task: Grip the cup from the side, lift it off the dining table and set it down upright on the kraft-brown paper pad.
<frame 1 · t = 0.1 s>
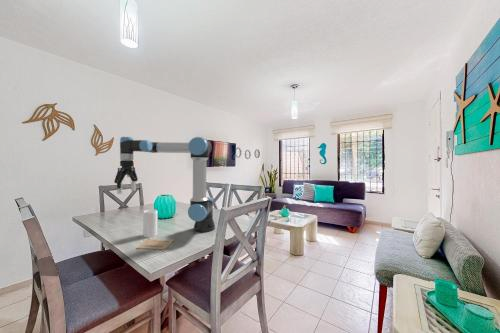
hand: (126, 192, 131), 28 cm above the table, tool pointing down, fingers open, 13 cm apart
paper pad: (156, 244, 115), on the table
cup: (150, 235, 129), on the table
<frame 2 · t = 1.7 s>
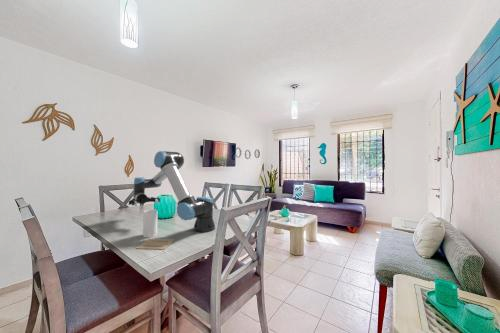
hand: (147, 203, 136), 20 cm above the table, tool horizontal, fingers open, 13 cm apart
nothing on the table moved.
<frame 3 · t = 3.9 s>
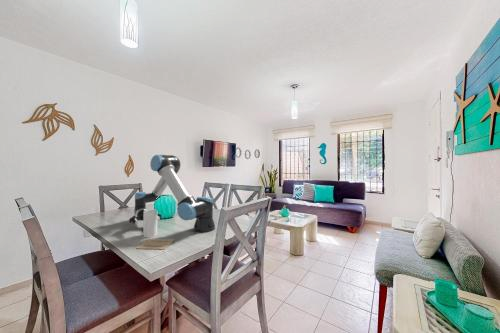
hand: (148, 221, 132), 8 cm above the table, tool horizontal, fingers open, 13 cm apart
nothing on the table moved.
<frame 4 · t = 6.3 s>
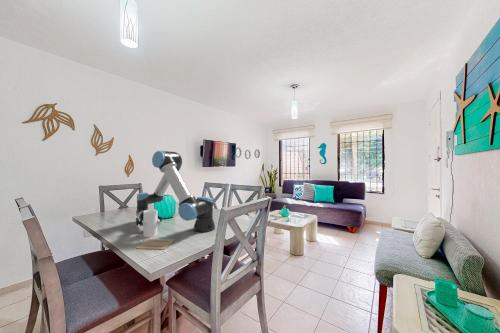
hand: (152, 224, 125), 9 cm above the table, tool horizontal, fingers closed on cup, 8 cm apart
cup: (150, 235, 129), on the table, touching gripper
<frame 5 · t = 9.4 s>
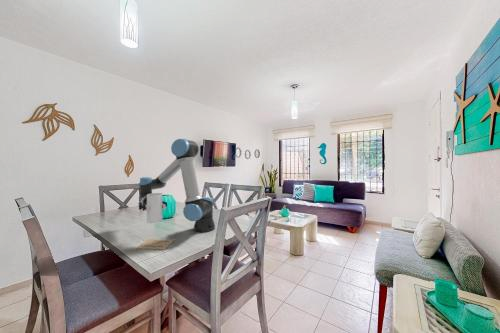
hand: (156, 208, 112), 22 cm above the table, tool horizontal, fingers closed on cup, 8 cm apart
cup: (154, 221, 116), point 13 cm above the table, touching gripper
when the fingers open (10 cm above the table, at t = 12.6 s): cup drops 1 cm, resting on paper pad.
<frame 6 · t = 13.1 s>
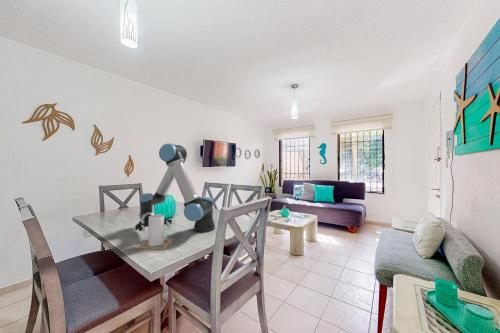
hand: (157, 228, 112), 10 cm above the table, tool horizontal, fingers open, 13 cm apart
cup: (156, 243, 115), resting on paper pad
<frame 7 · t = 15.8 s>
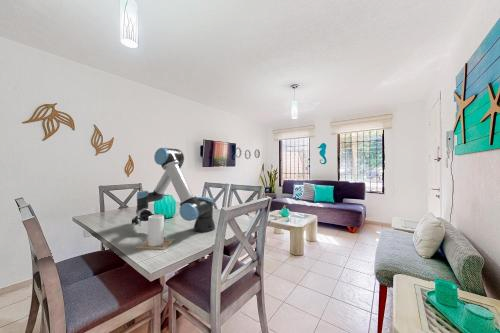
hand: (152, 221, 123), 11 cm above the table, tool horizontal, fingers open, 13 cm apart
nothing on the table moved.
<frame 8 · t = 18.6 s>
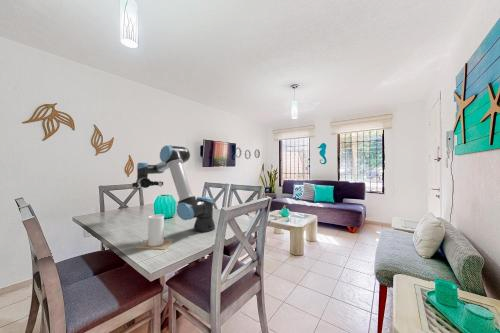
hand: (150, 185, 136), 32 cm above the table, tool horizontal, fingers open, 13 cm apart
nothing on the table moved.
at the end: cup inside the target area on the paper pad (0.1 cm from its centre), point 0.3 cm above the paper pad's base; cup tilted 0°; the gripper is holding nothing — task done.
